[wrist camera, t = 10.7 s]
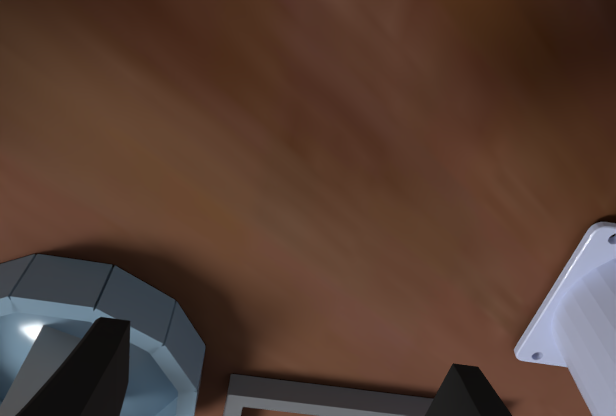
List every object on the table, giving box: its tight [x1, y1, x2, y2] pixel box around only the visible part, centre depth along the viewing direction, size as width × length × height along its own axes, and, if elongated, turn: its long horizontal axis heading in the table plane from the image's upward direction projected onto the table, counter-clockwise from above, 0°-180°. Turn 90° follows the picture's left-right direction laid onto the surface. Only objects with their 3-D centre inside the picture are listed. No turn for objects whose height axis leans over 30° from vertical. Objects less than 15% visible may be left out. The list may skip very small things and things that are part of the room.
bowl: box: [0, 254, 206, 416], centre depth 24 cm, size 12×12×2 cm
